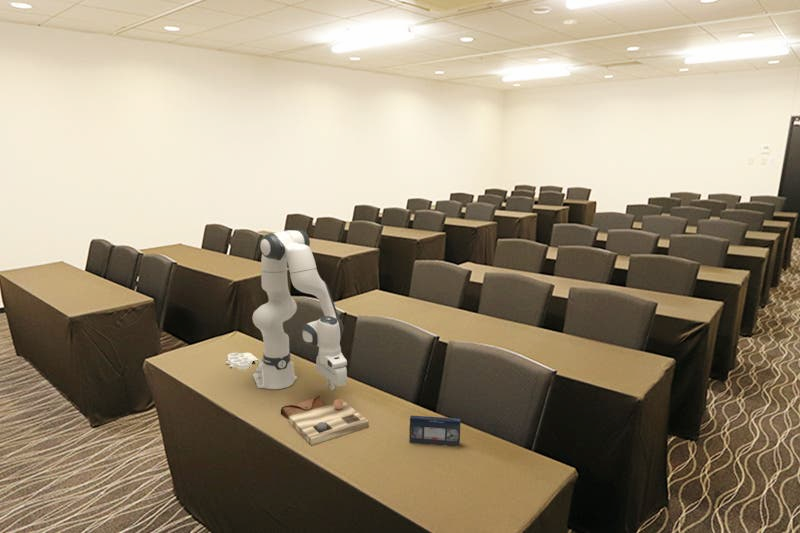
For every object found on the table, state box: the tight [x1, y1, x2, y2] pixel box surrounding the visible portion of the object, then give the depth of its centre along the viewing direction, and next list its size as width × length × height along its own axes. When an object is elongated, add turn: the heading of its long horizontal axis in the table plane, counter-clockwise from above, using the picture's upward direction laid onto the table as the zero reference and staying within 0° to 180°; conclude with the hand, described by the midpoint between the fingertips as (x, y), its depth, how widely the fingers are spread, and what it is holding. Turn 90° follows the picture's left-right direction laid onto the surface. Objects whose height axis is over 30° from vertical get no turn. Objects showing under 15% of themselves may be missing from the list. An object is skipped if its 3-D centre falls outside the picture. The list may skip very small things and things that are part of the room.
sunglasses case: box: [280, 395, 326, 421], centre depth 210 cm, size 18×7×7 cm, turn 130°
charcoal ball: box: [316, 422, 327, 433], centre depth 193 cm, size 4×4×4 cm
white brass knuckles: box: [224, 352, 261, 370], centre depth 256 cm, size 3×18×15 cm
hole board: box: [288, 400, 370, 446], centre depth 199 cm, size 20×24×2 cm
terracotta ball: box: [332, 398, 344, 409], centre depth 207 cm, size 4×4×4 cm
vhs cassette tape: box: [408, 415, 462, 447], centre depth 187 cm, size 18×3×10 cm, turn 82°
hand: (331, 388), depth 211 cm, fingers closed
